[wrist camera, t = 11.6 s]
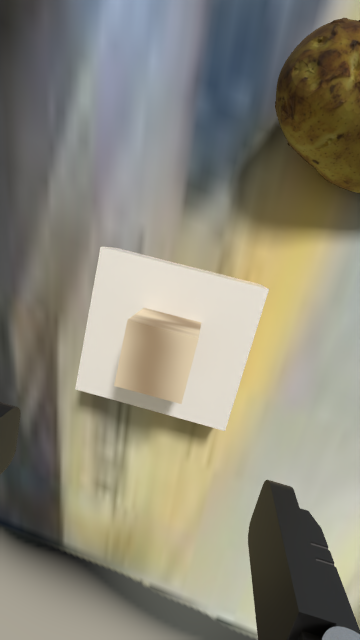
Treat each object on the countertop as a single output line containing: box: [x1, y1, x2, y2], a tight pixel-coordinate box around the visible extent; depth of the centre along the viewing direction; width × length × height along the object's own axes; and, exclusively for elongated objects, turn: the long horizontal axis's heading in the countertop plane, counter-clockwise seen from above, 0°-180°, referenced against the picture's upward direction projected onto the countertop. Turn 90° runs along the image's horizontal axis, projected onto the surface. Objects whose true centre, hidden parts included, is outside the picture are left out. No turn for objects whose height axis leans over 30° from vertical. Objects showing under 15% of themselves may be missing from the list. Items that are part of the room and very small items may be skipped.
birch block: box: [114, 308, 201, 404], centre depth 24 cm, size 5×5×5 cm
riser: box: [75, 247, 269, 431], centre depth 28 cm, size 14×13×4 cm
